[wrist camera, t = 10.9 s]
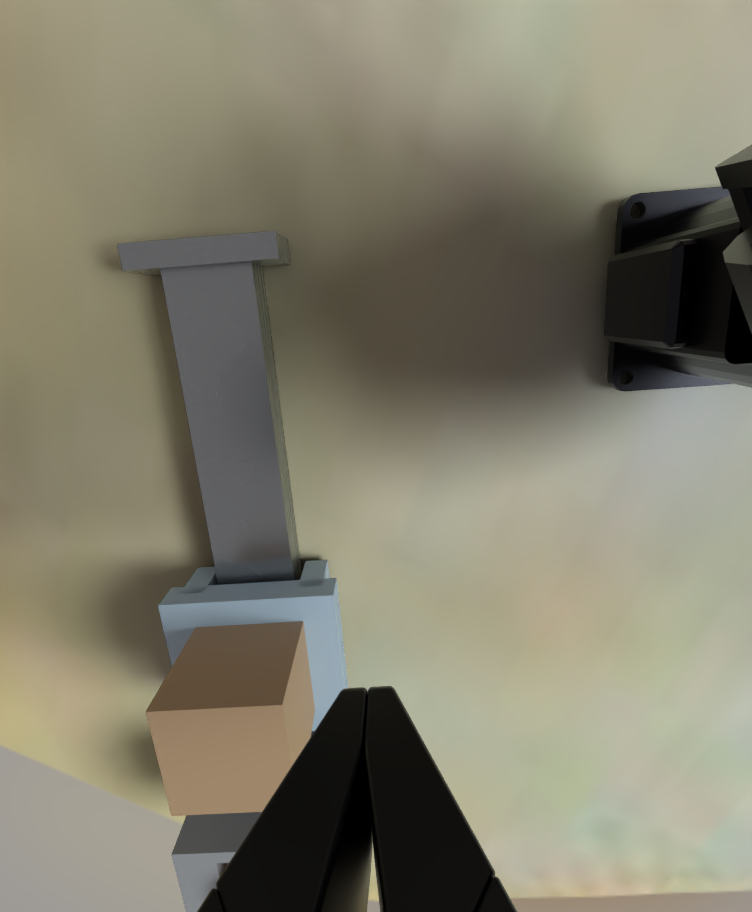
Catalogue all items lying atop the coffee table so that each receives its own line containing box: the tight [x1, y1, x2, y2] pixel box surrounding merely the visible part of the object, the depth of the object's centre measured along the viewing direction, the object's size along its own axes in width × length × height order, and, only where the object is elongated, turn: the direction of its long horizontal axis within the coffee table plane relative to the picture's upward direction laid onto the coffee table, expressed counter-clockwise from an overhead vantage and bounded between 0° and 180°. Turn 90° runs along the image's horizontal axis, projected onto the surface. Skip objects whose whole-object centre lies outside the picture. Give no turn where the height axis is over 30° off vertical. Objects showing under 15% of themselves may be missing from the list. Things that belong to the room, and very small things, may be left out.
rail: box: [117, 231, 314, 736], centre depth 19 cm, size 5×20×2 cm, turn 4°
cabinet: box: [172, 812, 262, 912], centre depth 21 cm, size 6×4×6 cm, turn 94°
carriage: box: [146, 560, 348, 816], centre depth 18 cm, size 6×6×7 cm
